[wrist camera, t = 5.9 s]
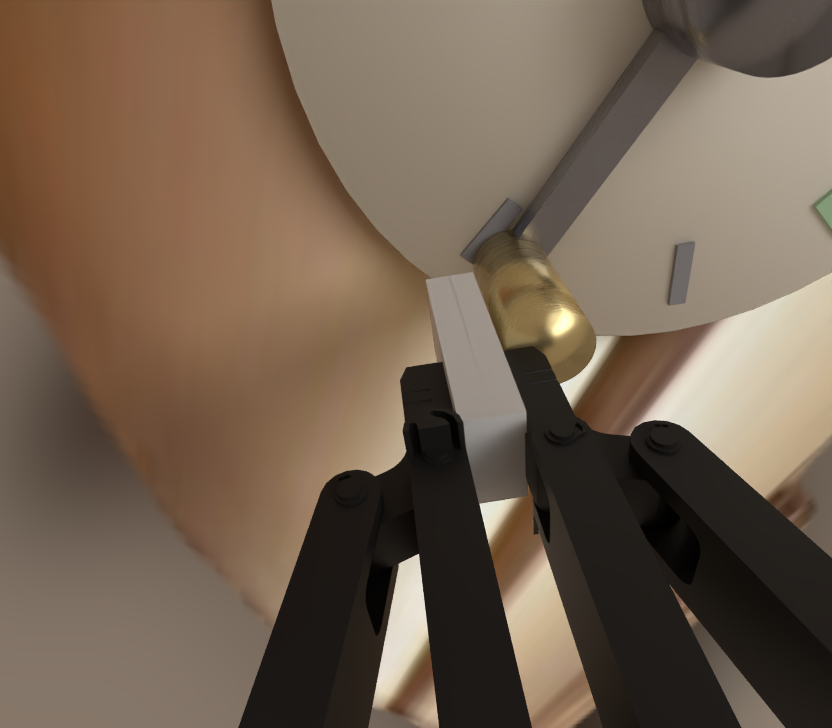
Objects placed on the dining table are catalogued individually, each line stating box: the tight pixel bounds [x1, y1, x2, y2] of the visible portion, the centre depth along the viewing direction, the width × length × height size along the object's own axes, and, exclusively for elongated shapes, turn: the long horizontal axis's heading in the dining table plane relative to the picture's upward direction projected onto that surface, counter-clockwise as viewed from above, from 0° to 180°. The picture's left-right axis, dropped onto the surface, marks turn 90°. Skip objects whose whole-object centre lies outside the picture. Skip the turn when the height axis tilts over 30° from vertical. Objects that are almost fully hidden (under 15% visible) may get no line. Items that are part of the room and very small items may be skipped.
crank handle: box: [473, 0, 832, 384], centre depth 15 cm, size 14×5×5 cm, turn 149°
